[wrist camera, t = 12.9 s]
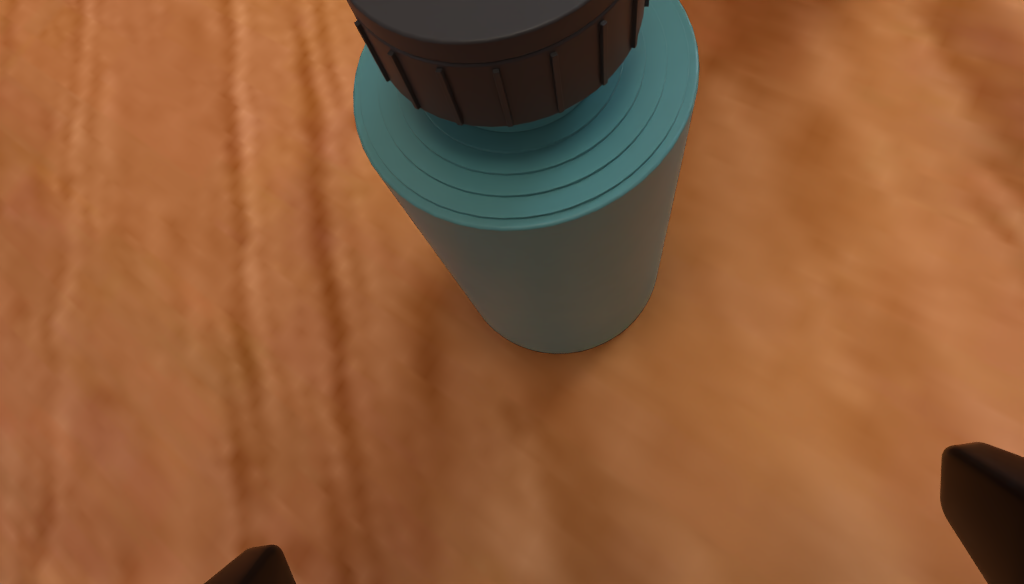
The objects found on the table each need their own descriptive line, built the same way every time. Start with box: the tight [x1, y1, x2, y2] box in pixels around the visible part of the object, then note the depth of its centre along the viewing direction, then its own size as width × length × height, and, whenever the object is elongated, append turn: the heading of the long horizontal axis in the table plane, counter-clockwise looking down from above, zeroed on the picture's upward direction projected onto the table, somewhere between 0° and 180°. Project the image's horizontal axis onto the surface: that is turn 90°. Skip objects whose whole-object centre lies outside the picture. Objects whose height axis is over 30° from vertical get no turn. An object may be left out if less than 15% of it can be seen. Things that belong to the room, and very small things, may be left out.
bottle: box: [353, 0, 699, 353], centre depth 14 cm, size 6×6×12 cm
